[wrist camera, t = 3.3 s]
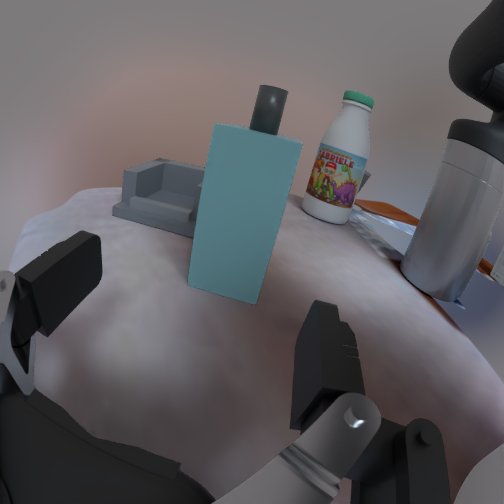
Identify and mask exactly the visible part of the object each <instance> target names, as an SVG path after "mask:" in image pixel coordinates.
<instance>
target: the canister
mask: <svg viewBox="0 0 504 504" xmlns="http://www.w3.org/2000/svg"><path fill="white" fill-rule="evenodd" d="M454 504H504V443H503V444H502V445H500V446H499V447H498V448H496V449H495V450H494V451H492V452H491V453H490V454H488V455H487V456H486V457H484V458H483V459H482V460H480V461H479V462H478V463H477V464H476V465H475V466H474V468H473V469H472V470H471V471H470V473H469V474H468V476H467V477H466V479H465V480H464V482H463V484H462V486H461V488H460V490H459V492H458V494H457V496H456V499H455V501H454Z"/></svg>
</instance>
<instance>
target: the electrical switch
mask: <svg viewBox="0 0 504 504" xmlns="http://www.w3.org/2000/svg"><path fill="white" fill-rule="evenodd" d="M370 175H371V174H370V173H368V172H367V171H366V170H365V172H364V175H363V178H362V182H361V185H360V188H359V191H360V190H361V188H362V187H363V185H364V184H365V183H366V181H367V180H368V178H369V177H370ZM359 191H358V192H359ZM357 194H358V193H357Z"/></svg>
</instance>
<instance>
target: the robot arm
mask: <svg viewBox="0 0 504 504" xmlns="http://www.w3.org/2000/svg"><path fill="white" fill-rule="evenodd" d="M449 73H450V77H451V79H452V81H453V83H454V84H455V85H456V87H457V88H459V89H460V90H461V91H462V92H464V93H465V94H466V95H468V96H470V97H471V98H473V99H475V100H476V101H478V102H480V103H482V104H483V105H485V106H486V107H488V108H489V109H491V110H493V115H492V118H491V121H490V122H489V123H484V122H479V121H474V120H469V119H457V120H455V121H453V122H452V124H451V126H450V130H449V133H448V137H447V141H446V145H445V148H444V152H443V155H442V159H441V162H440V165H439V168H438V172H437V175H436V178H435V181H434V183H433V186H432V189H431V192H430V195H429V197H428V200H427V203H426V206H425V208H424V211H423V213H422V216H421V218H420V221H419V223H418V225H417V228H416V230H415V233H414V235H413V237H412V239H411V242H410V244H409V246H408V248H407V251H406V253H405V255H404V257H403V259H402V261H401V263H400V269H401V271H402V273H403V274H404V275H405V277H406V278H407V279H408V280H409V281H410V282H412V283H413V284H414V285H415V286H416V287H418V288H419V289H420V290H422V291H424V292H425V293H427V294H429V295H430V296H432V297H434V298H437V299H439V300H442V301H446V302H453V301H455V300H456V298H457V297H461V296H462V294H463V292H464V291H465V289H466V287H467V285H468V284H469V282H470V280H471V278H472V276H473V274H474V272H475V271H476V269H477V267H478V265H479V263H480V261H481V259H482V257H483V254H484V252H485V250H486V248H487V246H488V243H489V242H490V239H491V237H492V232H491V229H492V226H493V224H494V221H495V219H496V216H497V213H498V211H499V208H500V205H501V203H502V200H503V196H504V0H492V2H491V3H490V4H489V5H488V7H487V8H486V9H485V10H484V11H483V12H482V13H481V14H480V15H479V16H478V17H477V18H476V19H475V20H474V21H473V22H472V23H471V24H470V25H469V26H468V27H467V28H466V29H465V30H464V31H463V33H462V34H461V35H460V36H459V38H458V40H457V41H456V43H455V45H454V47H453V49H452V51H451V55H450V59H449ZM101 277H102V255H101V240H100V237H99V236H98V235H95V234H92V233H89V232H86V231H79V232H78V233H76V234H75V235H73V236H72V237H70V238H69V239H67V240H65V241H62V242H60V243H57V244H56V245H54V246H53V247H51V248H50V249H48V251H45V252H44V253H43V254H41V256H38V257H37V258H35V259H34V260H33V261H31V262H30V263H29V264H27V265H26V266H25V267H23V268H22V269H21V270H19V271H18V272H17V273H15V274H13V273H11V272H9V271H0V504H329V503H330V502H331V501H332V500H333V499H334V498H335V496H336V495H337V493H338V491H339V489H340V488H339V487H338V484H339V482H340V481H341V480H342V478H343V477H346V478H349V479H352V488H351V502H350V504H451V503H450V490H449V480H448V472H447V464H446V457H445V451H444V445H443V440H442V436H441V433H440V431H439V429H438V428H437V426H436V425H435V424H434V423H432V422H431V421H429V420H427V419H422V418H419V419H415V420H413V421H412V422H410V423H409V424H408V425H407V426H406V427H405V426H402V425H400V424H397V423H394V422H391V421H389V420H386V419H384V418H382V417H381V414H380V411H379V409H378V407H377V405H376V404H375V403H374V402H373V401H372V400H371V399H370V398H368V397H367V396H365V390H364V384H363V377H362V371H361V366H360V360H359V359H358V357H359V354H358V349H356V348H357V344H356V339H355V334H354V333H353V331H352V330H351V328H350V327H349V325H348V324H347V323H345V322H341V321H340V319H339V313H338V308H337V305H334V304H330V303H326V302H322V301H318V300H315V301H314V302H313V304H312V306H311V308H310V310H309V313H308V315H307V317H306V319H305V321H304V323H303V326H302V328H301V330H300V332H299V335H298V337H297V341H296V346H295V359H294V377H293V393H292V407H291V420H290V429H295V430H301V433H300V437H299V438H298V439H297V440H296V441H294V442H293V443H292V444H291V445H290V446H289V447H287V448H286V449H284V450H283V451H282V452H281V453H280V454H278V455H277V456H276V457H275V458H274V459H272V460H271V461H270V462H269V463H268V464H266V465H265V466H264V467H263V468H261V469H260V470H259V471H257V472H256V473H255V474H254V475H252V476H251V477H250V478H248V479H247V480H246V481H244V482H243V483H241V484H240V485H239V486H237V487H236V488H234V489H233V490H231V491H230V492H229V493H227V494H226V495H224V496H223V497H221V498H219V499H218V500H215V499H214V497H213V496H212V495H211V494H210V493H209V492H208V491H207V490H206V489H205V488H204V487H203V486H201V485H200V484H199V483H198V482H197V481H195V480H194V479H192V478H191V477H189V476H188V475H186V474H184V473H183V472H181V471H180V465H181V463H179V462H176V461H173V460H170V459H167V458H164V457H161V456H159V455H156V454H153V453H151V452H148V451H146V450H143V449H141V448H139V447H134V446H129V445H125V444H120V443H115V442H111V441H107V440H103V439H99V438H96V437H93V436H92V435H90V434H89V433H88V432H87V431H86V430H85V429H84V428H82V427H81V426H80V425H79V424H78V423H77V422H76V421H75V420H74V419H73V418H72V417H71V416H70V415H69V414H68V413H67V412H66V411H65V410H64V409H63V408H62V407H61V406H59V405H58V404H56V403H55V402H53V401H52V400H50V399H49V398H47V397H46V396H44V395H43V394H42V393H40V392H39V391H38V390H36V389H35V385H34V356H35V336H34V333H35V332H36V331H38V332H40V333H42V334H43V335H45V336H46V337H48V336H49V335H50V334H51V333H52V332H53V331H54V330H55V329H56V328H57V327H58V326H59V324H60V323H61V322H62V321H63V320H64V319H65V318H66V317H67V316H68V315H69V314H70V313H71V312H72V311H73V310H74V309H75V308H76V307H77V306H78V305H79V304H80V302H81V301H82V300H83V299H84V298H85V297H86V296H87V295H88V294H89V293H90V292H91V291H92V290H93V289H94V288H96V287H97V285H98V284H99V282H100V280H101Z"/></svg>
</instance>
